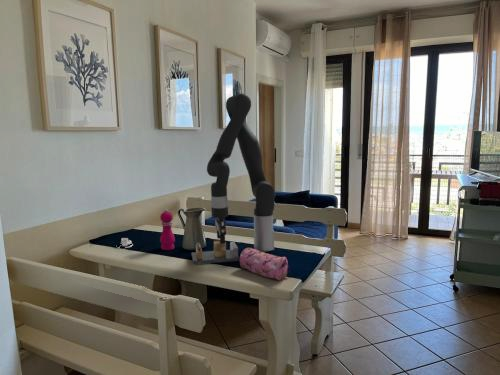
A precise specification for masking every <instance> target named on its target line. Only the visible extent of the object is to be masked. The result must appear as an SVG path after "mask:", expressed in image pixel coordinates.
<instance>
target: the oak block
mask: <svg viewBox="0 0 500 375" xmlns="http://www.w3.org/2000/svg"><path fill="white" fill-rule="evenodd" d="M226 250H227V242H226V241H225V243H224V244H221V243H220V239H219V240H218V239H217V240H213V251H214V255H215V257H219V256H226Z"/></svg>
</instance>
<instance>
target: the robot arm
mask: <svg viewBox="0 0 500 375" xmlns="http://www.w3.org/2000/svg"><path fill="white" fill-rule="evenodd" d="M251 108H252V100H251V98H250V96H249V95H247V94H246V93H237V94H235V95H231V96H230V97H228V98H226V102H225V110H226V113H227V115H228V117H229V122H228V124H227V125H226V127H225V129H223V132H222V134H221V135H220V137H219V140H218V142H217V146H216V149H215V151H214V152H213V154H212V155H211V157H210V159H209V161H208V162H207V166H206V172H207V175H209V176H210V177H212V178H213V177H214V178H216V179H215V180H216V181H215V182H212V183H211V186H210V194H211V195H210V196H211V197H210V208H211V211H210V212H211V217H212V218H215V220H214V221H215V229H216V238H217V240H218V239H219V240H220V243H221V244H224V243H225V242H226V235H227V228H226V227H227V225H226V220H225V219H224V218H225V217H227V218H228V216H229V199H228V189H227V188H228V183H229V178H230V173H231V171H230V166H229V164H228V162H226V161H225V160H227V159H229V158H230V157H231V156H232V153H233V150H234V148H235V145H236V144H235V143H236V140H237V142H238V146H239V149H240V150H239V151H240V153H241V156H242V159H243V163H244V165H245V167H246V171H247V173H248V177H249V181H250V182H249V183H250V187H251V192H252V195H253V197H254V198H255V208H254V209H253V249H256V250H258V251H260V252H271V251H274V250H275V230H274V210H275V200H276V199H275V197H276V196H275V195H276V194H275V193H276V191H275V188H274V186H273V185H272V184H271V183H270V182H267V179H266V176H265V174H264V169H263V155H262V149H261V146H260V142H259V140H258V138H257V137H256V135H255V134H254V132H253V131H252V130H251V128H250V126H248V123H247V121H246V118H247V116H248V115H249V112H250V110H251Z"/></svg>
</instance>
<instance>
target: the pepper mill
mask: <svg viewBox="0 0 500 375" xmlns="http://www.w3.org/2000/svg"><path fill="white" fill-rule="evenodd" d="M173 217H174V216H173V214H172V212H170V211H169V209H167V208H164V212H162V213H161V214H160V217H159V218H160V221H161V226H162V232H161V235H160V238H159V243H161V246H160V248H161V250H162V251H171V250H174V248H175V244H174V243H175V242H176V239H175V235H174V234H175V233H173V230H172V225H173V221H172V220H173V219H174V218H173Z"/></svg>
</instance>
